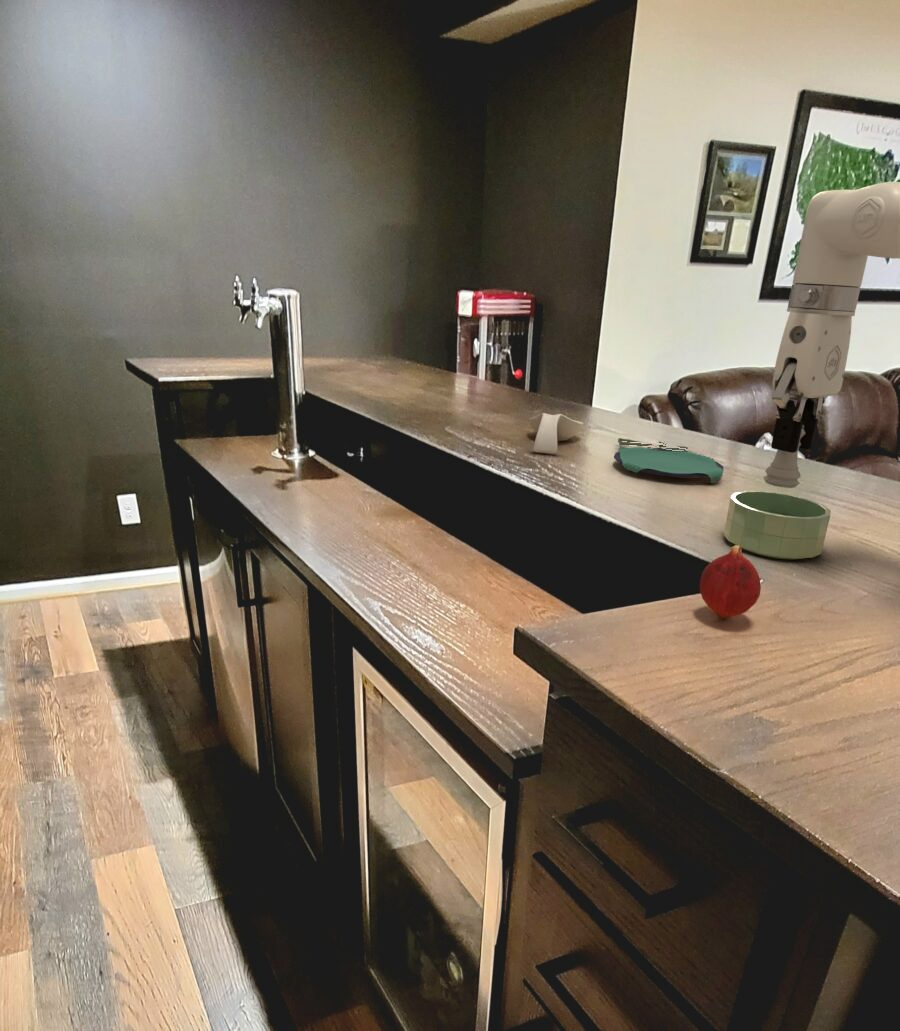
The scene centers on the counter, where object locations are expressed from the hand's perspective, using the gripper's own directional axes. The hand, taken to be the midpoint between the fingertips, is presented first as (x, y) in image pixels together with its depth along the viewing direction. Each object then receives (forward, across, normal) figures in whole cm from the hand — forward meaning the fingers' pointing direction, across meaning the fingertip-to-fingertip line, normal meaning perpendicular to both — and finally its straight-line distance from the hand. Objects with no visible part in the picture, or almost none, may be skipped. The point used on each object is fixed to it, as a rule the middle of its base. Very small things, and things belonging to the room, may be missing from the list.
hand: (791, 447), depth 94 cm
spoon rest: (+14, +20, +59) cm, 64 cm away
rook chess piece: (+5, 0, 0) cm, 5 cm away
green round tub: (+14, 0, 0) cm, 14 cm away
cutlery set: (+14, +27, +35) cm, 46 cm away
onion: (+14, -27, -9) cm, 31 cm away
